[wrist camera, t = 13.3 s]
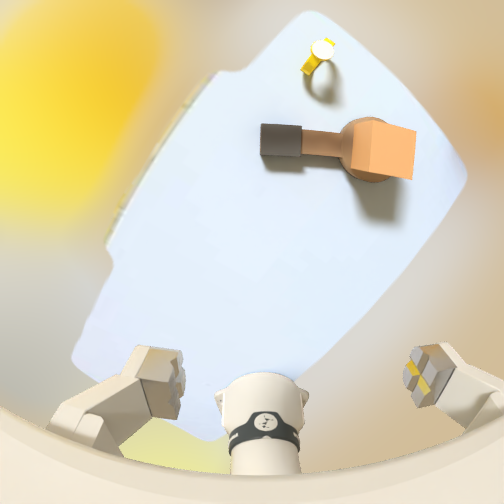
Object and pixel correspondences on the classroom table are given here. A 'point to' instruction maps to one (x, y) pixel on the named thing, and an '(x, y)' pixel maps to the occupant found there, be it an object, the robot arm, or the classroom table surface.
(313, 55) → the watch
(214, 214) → the classroom table surface
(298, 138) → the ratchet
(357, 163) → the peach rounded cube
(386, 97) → the classroom table surface
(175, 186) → the classroom table surface
